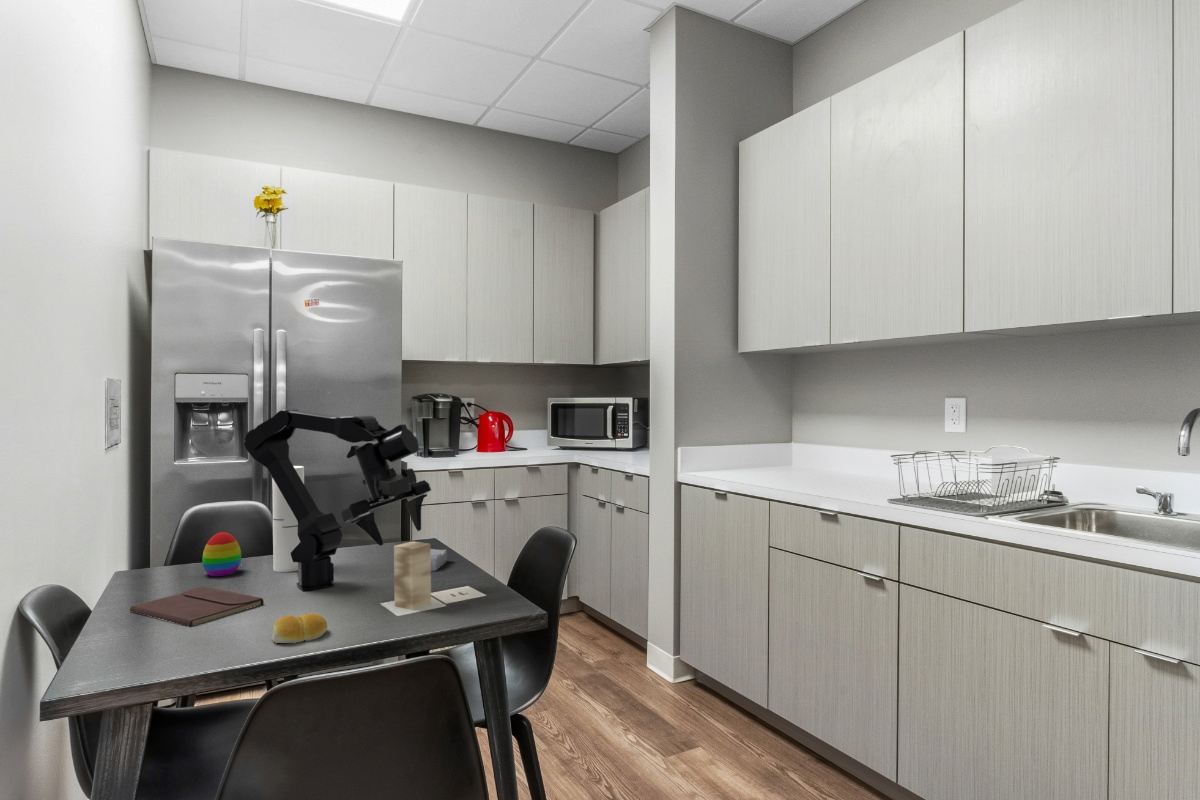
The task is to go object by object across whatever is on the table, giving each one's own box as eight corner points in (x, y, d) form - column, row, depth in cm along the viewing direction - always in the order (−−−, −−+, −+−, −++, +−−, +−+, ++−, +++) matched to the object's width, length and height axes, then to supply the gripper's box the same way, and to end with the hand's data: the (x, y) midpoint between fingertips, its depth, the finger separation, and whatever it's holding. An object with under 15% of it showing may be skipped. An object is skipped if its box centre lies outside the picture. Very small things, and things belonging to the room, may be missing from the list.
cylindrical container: (284, 564, 170) (283, 465, 170) (311, 565, 169) (309, 466, 169) (267, 571, 163) (265, 468, 163) (294, 572, 162) (293, 469, 162)
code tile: (446, 605, 134) (446, 603, 134) (428, 594, 142) (428, 593, 142) (486, 596, 140) (486, 595, 140) (468, 587, 147) (468, 585, 147)
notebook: (189, 629, 123) (189, 618, 123) (129, 614, 132) (129, 604, 132) (263, 606, 136) (263, 596, 136) (205, 594, 146) (204, 585, 146)
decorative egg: (220, 568, 166) (220, 528, 166) (249, 570, 165) (248, 529, 165) (194, 577, 158) (193, 535, 158) (224, 578, 157) (223, 536, 157)
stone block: (397, 581, 160) (438, 572, 160) (393, 561, 160) (434, 552, 160) (412, 570, 172) (450, 562, 172) (409, 551, 172) (446, 543, 172)
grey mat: (397, 617, 127) (397, 616, 127) (380, 604, 135) (380, 603, 135) (446, 607, 133) (446, 605, 133) (427, 595, 141) (427, 594, 141)
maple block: (394, 606, 133) (393, 546, 133) (413, 599, 137) (412, 541, 137) (412, 610, 131) (412, 548, 131) (431, 603, 135) (430, 543, 135)
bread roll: (331, 638, 117) (331, 615, 117) (275, 649, 112) (275, 625, 112) (321, 625, 124) (321, 603, 124) (268, 635, 119) (268, 612, 119)
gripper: (350, 472, 133) (376, 546, 132) (430, 449, 146) (455, 516, 145) (329, 485, 141) (355, 556, 139) (407, 462, 154) (431, 526, 153)
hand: (401, 537), depth 144 cm, fingers open, 9 cm apart
